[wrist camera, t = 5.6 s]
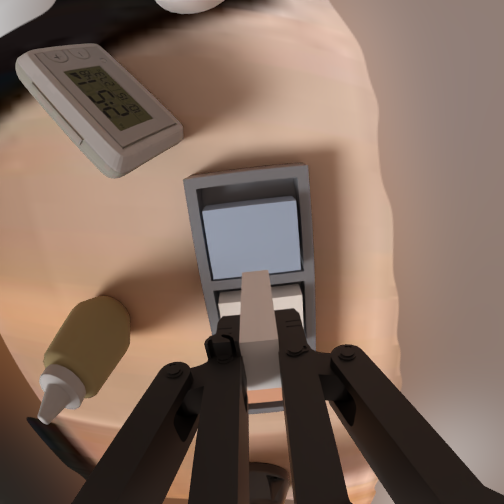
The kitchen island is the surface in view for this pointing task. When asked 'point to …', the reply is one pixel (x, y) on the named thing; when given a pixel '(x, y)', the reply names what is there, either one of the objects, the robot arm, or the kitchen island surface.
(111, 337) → the squeeze bottle
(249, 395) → the terracotta key
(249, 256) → the slate key
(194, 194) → the grey compartment tray
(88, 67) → the digital clock
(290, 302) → the off-white key
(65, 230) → the kitchen island surface
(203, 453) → the robot arm
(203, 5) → the base with upright slab
